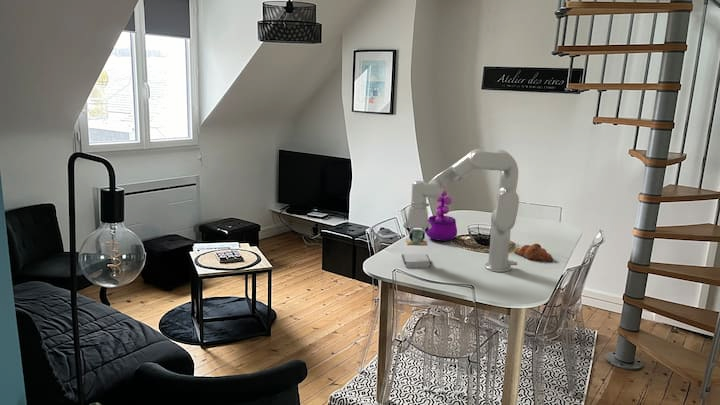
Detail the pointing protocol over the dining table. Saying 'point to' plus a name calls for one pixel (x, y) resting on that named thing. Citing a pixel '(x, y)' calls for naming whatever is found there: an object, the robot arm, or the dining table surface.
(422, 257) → the dock
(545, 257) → the pastry
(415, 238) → the pallet
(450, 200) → the decorative plant
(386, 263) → the dining table surface
